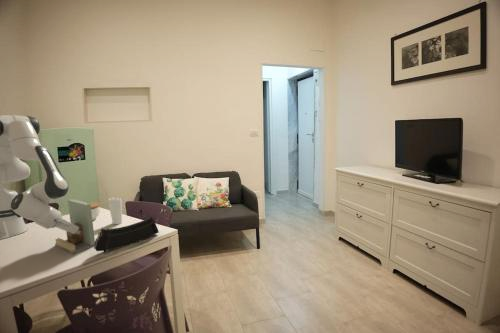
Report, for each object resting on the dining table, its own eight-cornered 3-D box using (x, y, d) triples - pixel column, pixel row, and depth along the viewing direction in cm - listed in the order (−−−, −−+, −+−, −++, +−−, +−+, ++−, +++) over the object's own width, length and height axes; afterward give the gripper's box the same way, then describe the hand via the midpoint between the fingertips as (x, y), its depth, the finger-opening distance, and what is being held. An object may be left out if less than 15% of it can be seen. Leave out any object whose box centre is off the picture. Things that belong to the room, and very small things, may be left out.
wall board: (73, 253, 128) (67, 209, 125) (55, 245, 138) (49, 204, 134) (95, 245, 136) (90, 203, 133) (77, 238, 146) (71, 199, 143)
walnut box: (71, 244, 133) (69, 228, 132) (66, 242, 136) (64, 226, 134) (83, 240, 137) (81, 224, 136) (78, 238, 140) (76, 222, 139)
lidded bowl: (104, 218, 175) (102, 201, 174) (81, 224, 166) (79, 206, 165) (97, 214, 184) (95, 198, 182) (75, 219, 175) (73, 202, 173)
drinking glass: (118, 225, 163) (116, 200, 161) (108, 224, 164) (105, 200, 162) (126, 221, 169) (123, 197, 167) (116, 220, 171) (113, 197, 168)
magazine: (158, 215, 150) (100, 214, 127) (162, 217, 148) (103, 215, 125) (152, 248, 149) (92, 252, 126) (156, 249, 146) (95, 254, 124)
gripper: (65, 215, 123) (91, 229, 132) (45, 209, 134) (70, 222, 144) (55, 228, 120) (82, 242, 129) (35, 220, 131) (61, 233, 141)
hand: (75, 231), depth 137 cm, fingers closed on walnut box, 5 cm apart
